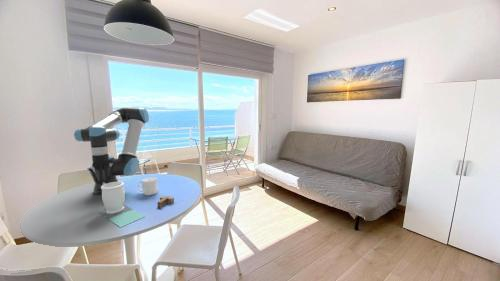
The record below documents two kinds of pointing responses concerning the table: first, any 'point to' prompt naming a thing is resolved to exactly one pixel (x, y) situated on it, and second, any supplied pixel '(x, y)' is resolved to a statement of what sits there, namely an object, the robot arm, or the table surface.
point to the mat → (123, 216)
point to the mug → (149, 186)
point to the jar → (113, 197)
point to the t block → (165, 200)
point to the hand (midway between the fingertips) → (104, 193)
